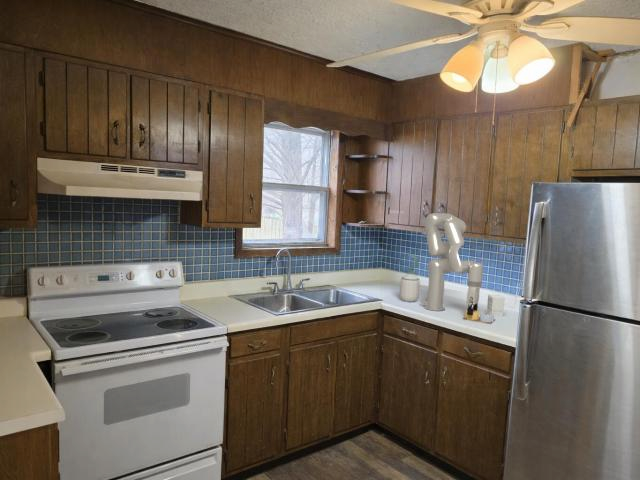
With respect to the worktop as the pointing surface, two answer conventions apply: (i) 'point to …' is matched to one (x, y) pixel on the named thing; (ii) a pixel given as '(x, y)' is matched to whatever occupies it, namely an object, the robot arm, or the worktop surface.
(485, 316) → the slate gear
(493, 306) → the supplement box
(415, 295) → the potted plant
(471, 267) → the robot arm
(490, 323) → the gear board
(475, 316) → the ochre gear
